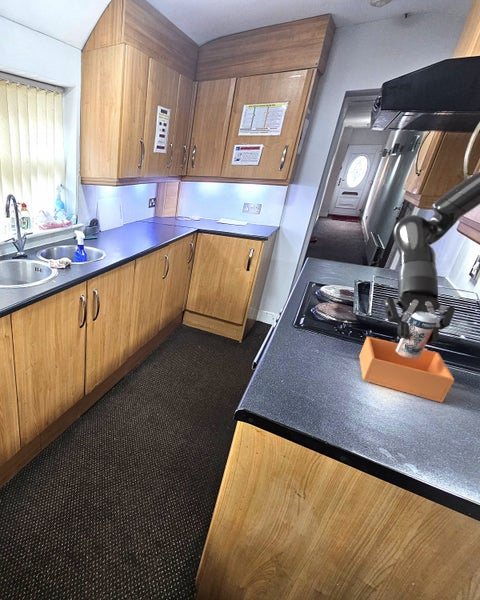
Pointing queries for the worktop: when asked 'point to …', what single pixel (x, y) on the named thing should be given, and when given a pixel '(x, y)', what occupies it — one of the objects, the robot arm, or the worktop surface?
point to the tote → (405, 370)
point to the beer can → (417, 335)
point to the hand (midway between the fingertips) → (418, 339)
